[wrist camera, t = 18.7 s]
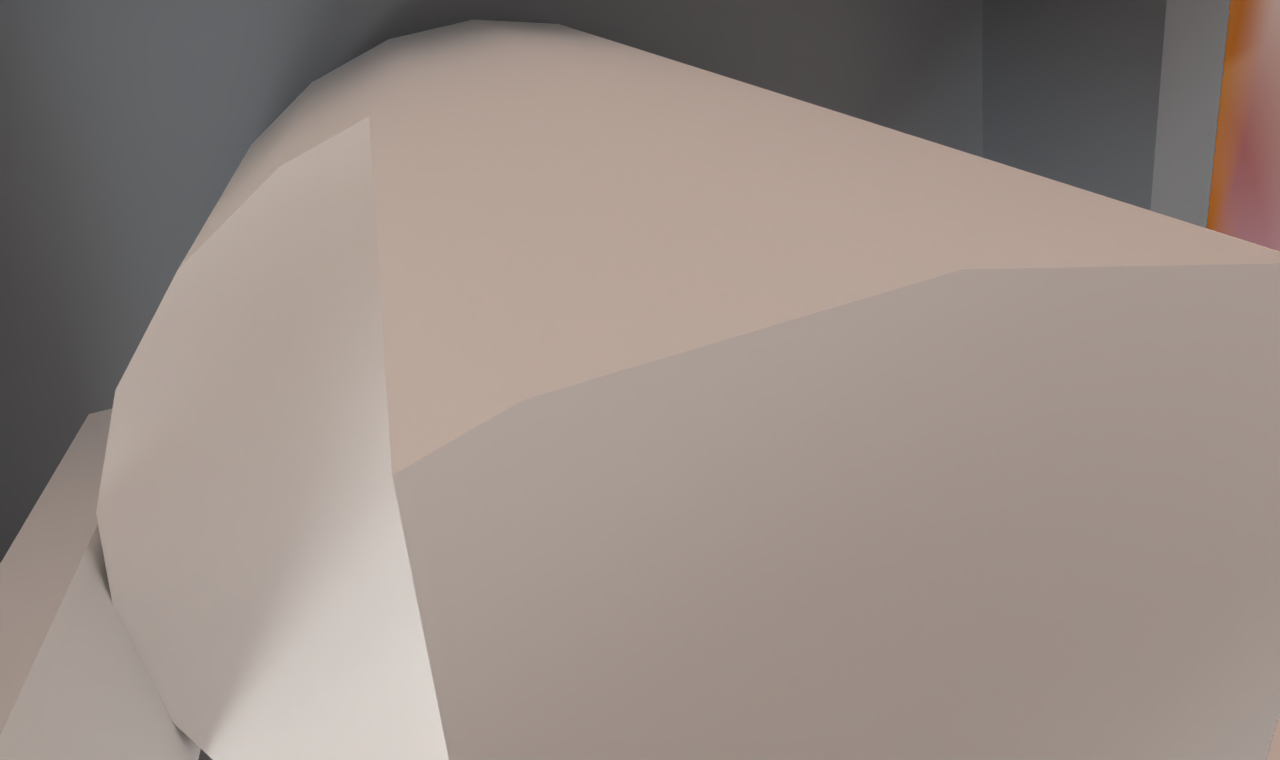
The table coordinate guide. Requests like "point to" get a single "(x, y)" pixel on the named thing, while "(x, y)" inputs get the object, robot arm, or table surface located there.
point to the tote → (593, 3)
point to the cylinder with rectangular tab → (689, 436)
